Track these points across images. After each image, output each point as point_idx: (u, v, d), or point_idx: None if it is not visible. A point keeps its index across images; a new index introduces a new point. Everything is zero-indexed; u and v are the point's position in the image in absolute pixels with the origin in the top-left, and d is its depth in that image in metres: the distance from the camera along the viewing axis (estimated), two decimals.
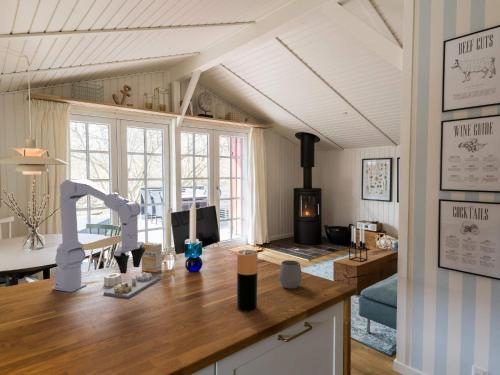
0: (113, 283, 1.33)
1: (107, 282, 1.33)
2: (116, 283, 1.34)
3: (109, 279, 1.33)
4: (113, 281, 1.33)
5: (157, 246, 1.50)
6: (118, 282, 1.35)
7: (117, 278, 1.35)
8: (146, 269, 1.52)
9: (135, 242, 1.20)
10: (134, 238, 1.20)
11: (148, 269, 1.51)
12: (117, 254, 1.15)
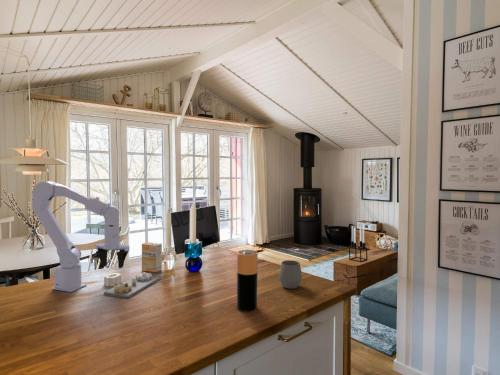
0: (113, 283, 1.33)
1: (107, 282, 1.33)
2: (116, 283, 1.34)
3: (109, 279, 1.33)
4: (113, 281, 1.33)
5: (157, 246, 1.50)
6: (118, 282, 1.35)
7: (117, 278, 1.35)
8: (146, 269, 1.52)
9: (107, 243, 1.32)
10: (106, 239, 1.32)
11: (148, 269, 1.51)
12: None
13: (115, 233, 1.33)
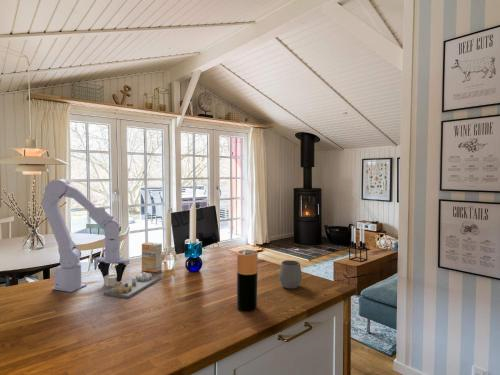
0: (113, 283, 1.33)
1: (107, 282, 1.33)
2: (116, 283, 1.34)
3: (109, 279, 1.33)
4: (113, 281, 1.33)
5: (157, 246, 1.50)
6: (118, 282, 1.35)
7: None
8: (146, 269, 1.52)
9: (107, 256, 1.32)
10: (106, 252, 1.32)
11: (148, 269, 1.51)
12: None
13: (115, 247, 1.33)
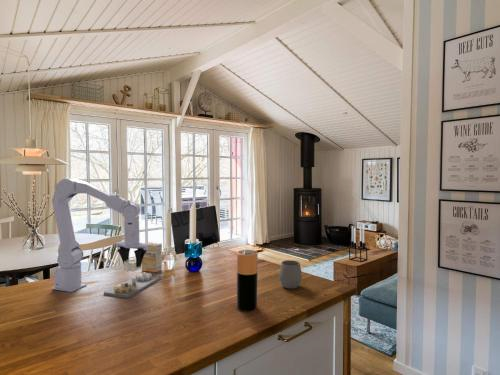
0: (133, 268, 1.30)
1: (127, 267, 1.30)
2: (136, 269, 1.31)
3: (129, 264, 1.30)
4: (133, 266, 1.30)
5: (157, 246, 1.50)
6: (138, 268, 1.32)
7: None
8: (146, 269, 1.52)
9: (126, 241, 1.29)
10: (125, 237, 1.29)
11: (148, 269, 1.51)
12: None
13: (134, 231, 1.29)
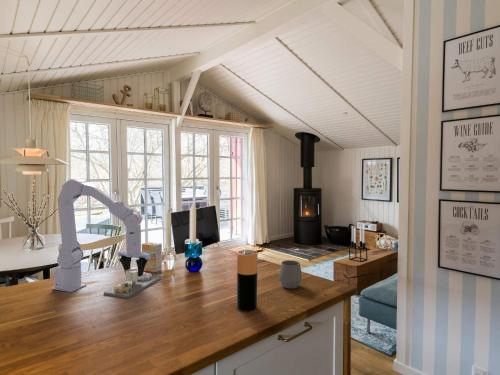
0: (134, 278, 1.30)
1: (128, 276, 1.30)
2: (137, 278, 1.31)
3: (130, 273, 1.30)
4: (134, 276, 1.29)
5: (157, 246, 1.50)
6: (139, 277, 1.32)
7: None
8: (146, 269, 1.52)
9: (128, 250, 1.29)
10: (127, 246, 1.29)
11: (148, 269, 1.51)
12: None
13: (135, 241, 1.29)
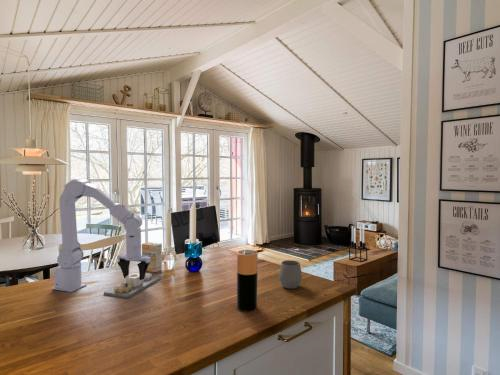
0: (134, 284, 1.30)
1: (128, 282, 1.30)
2: (137, 284, 1.31)
3: (130, 279, 1.30)
4: (134, 281, 1.30)
5: (157, 246, 1.50)
6: (139, 283, 1.32)
7: (138, 278, 1.31)
8: None
9: (128, 254, 1.29)
10: (127, 249, 1.29)
11: (148, 269, 1.51)
12: None
13: (135, 244, 1.29)
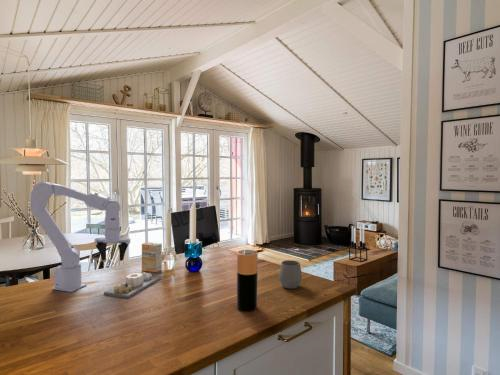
0: (134, 284, 1.30)
1: (128, 282, 1.30)
2: (137, 284, 1.31)
3: (130, 279, 1.30)
4: (134, 281, 1.30)
5: (157, 246, 1.50)
6: (139, 283, 1.32)
7: (138, 278, 1.31)
8: (146, 269, 1.52)
9: (108, 236, 1.34)
10: (107, 232, 1.34)
11: (148, 269, 1.51)
12: None
13: (116, 226, 1.35)
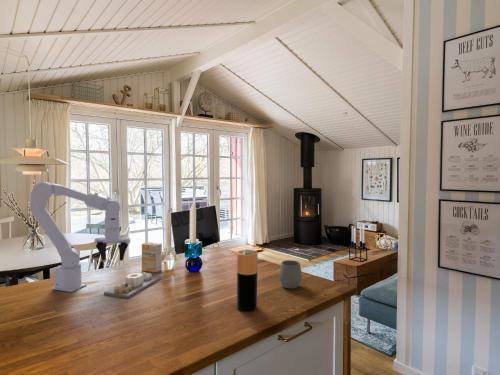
0: (134, 284, 1.30)
1: (128, 282, 1.30)
2: (137, 284, 1.31)
3: (130, 279, 1.30)
4: (134, 281, 1.30)
5: (157, 246, 1.50)
6: (139, 283, 1.32)
7: (138, 278, 1.31)
8: (146, 269, 1.52)
9: (108, 236, 1.34)
10: (107, 232, 1.34)
11: (148, 269, 1.51)
12: None
13: (116, 226, 1.35)
